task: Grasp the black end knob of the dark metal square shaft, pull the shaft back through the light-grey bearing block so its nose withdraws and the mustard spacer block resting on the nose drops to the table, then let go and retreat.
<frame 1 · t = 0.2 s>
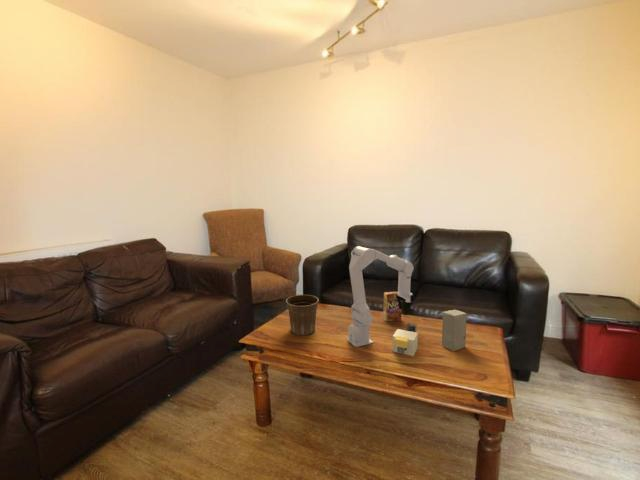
hand: (403, 311, 157), 10 cm above the table, fingers open, 7 cm apart
shaft: (406, 338, 141), point 4 cm above the table, slide at 0.0 cm, touching spacer
spacer: (401, 345, 133), point 5 cm above the table, touching shaft
bearing block: (405, 349, 139), on the table
plant pot: (303, 330, 160), on the table
candy box: (392, 320, 172), on the table
skincare box: (453, 346, 142), on the table
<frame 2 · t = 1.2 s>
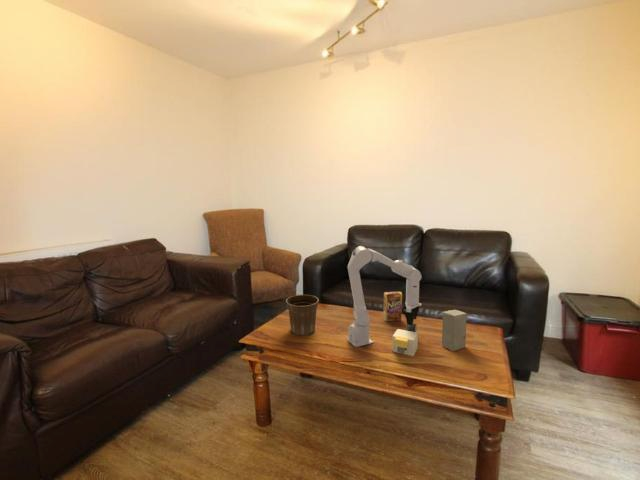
hand: (411, 321, 148), 8 cm above the table, fingers open, 7 cm apart
nothing on the table moved.
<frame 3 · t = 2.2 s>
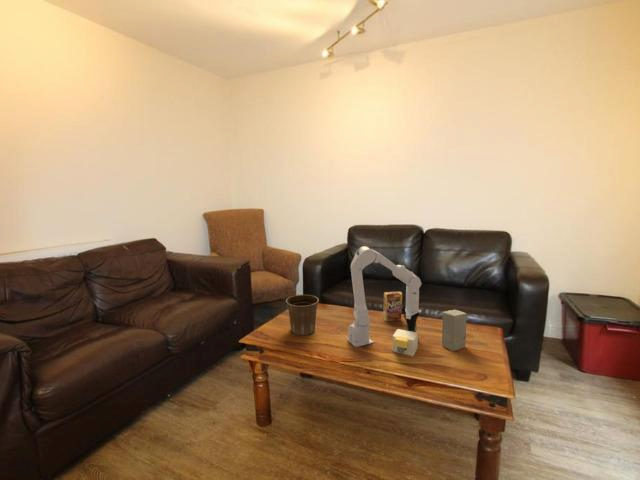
hand: (411, 328, 149), 5 cm above the table, fingers closed on shaft, 3 cm apart
shaft: (406, 338, 141), point 4 cm above the table, slide at 0.0 cm, touching gripper, spacer
everything else where it was.
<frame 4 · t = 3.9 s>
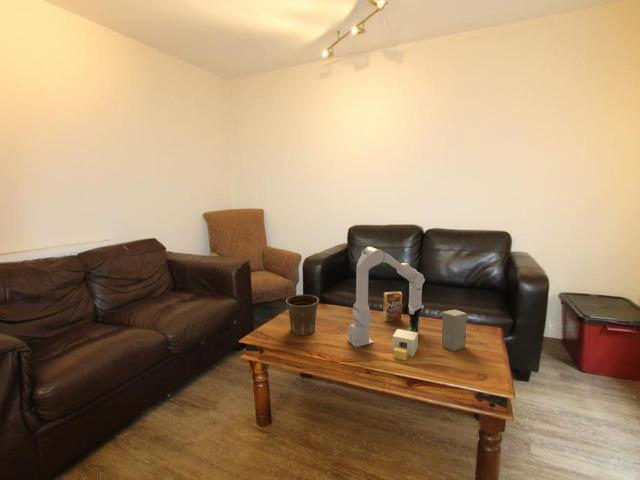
hand: (414, 323, 154), 5 cm above the table, fingers closed on shaft, 3 cm apart
shaft: (410, 332, 146), point 4 cm above the table, slide at 6.2 cm, touching gripper
spacer: (401, 351, 134), point 2 cm above the table, tilted 90°
everything else where it was.
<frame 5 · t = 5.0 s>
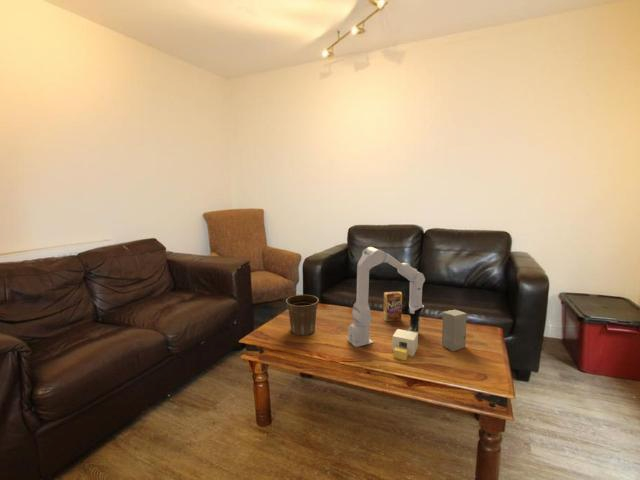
hand: (414, 322, 155), 5 cm above the table, fingers closed on shaft, 3 cm apart
shaft: (410, 331, 147), point 4 cm above the table, slide at 7.0 cm, touching gripper
everything else where it was.
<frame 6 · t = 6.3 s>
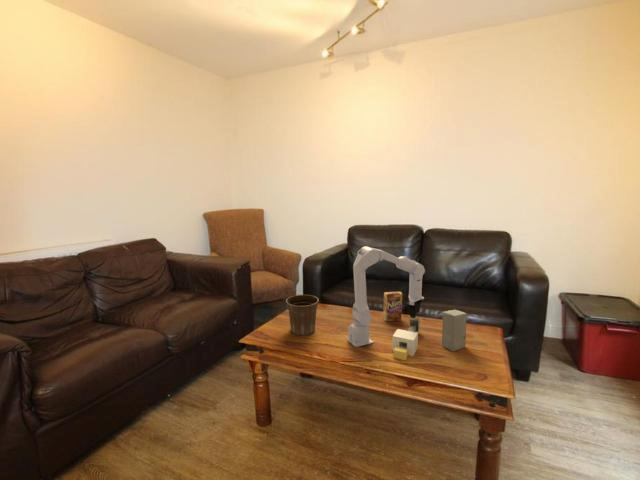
hand: (414, 314, 153), 10 cm above the table, fingers open, 7 cm apart
shaft: (410, 331, 147), point 4 cm above the table, slide at 7.0 cm
everything else where it was.
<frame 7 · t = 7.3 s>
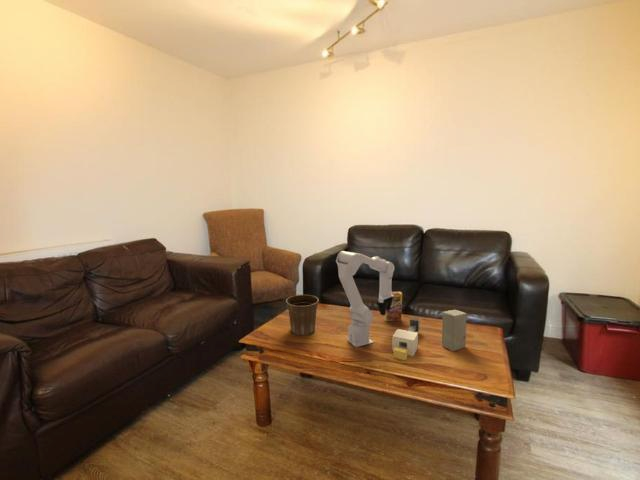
hand: (385, 312, 156), 10 cm above the table, fingers open, 7 cm apart
nothing on the table moved.
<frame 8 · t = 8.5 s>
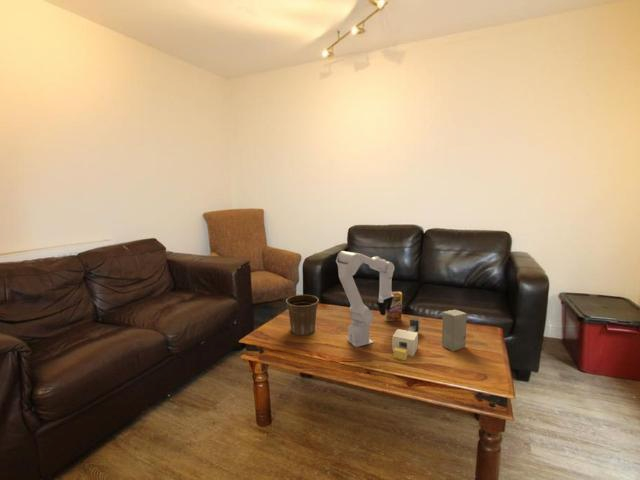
hand: (385, 312, 156), 10 cm above the table, fingers open, 7 cm apart
nothing on the table moved.
at the end: shaft slide at 7.0 cm; spacer point 1.6 cm above the table; spacer touching table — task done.
